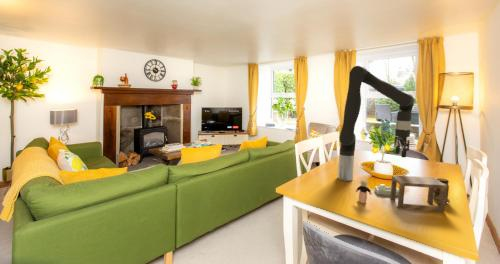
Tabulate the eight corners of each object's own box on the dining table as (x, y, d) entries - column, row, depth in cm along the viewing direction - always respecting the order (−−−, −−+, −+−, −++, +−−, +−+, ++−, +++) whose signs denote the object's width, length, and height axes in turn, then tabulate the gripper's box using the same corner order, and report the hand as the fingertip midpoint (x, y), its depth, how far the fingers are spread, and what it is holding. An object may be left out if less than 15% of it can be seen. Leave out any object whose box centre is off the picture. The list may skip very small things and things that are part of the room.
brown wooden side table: (398, 208, 124) (401, 182, 122) (390, 199, 135) (392, 175, 133) (443, 212, 120) (446, 185, 118) (431, 201, 131) (433, 177, 130)
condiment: (431, 201, 132) (433, 179, 131) (432, 196, 139) (435, 176, 137) (448, 205, 128) (451, 182, 126) (449, 199, 134) (451, 178, 132)
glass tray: (377, 194, 141) (378, 186, 140) (374, 191, 147) (375, 182, 146) (400, 196, 139) (401, 187, 138) (396, 192, 145) (397, 184, 144)
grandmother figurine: (354, 203, 130) (356, 180, 129) (355, 200, 134) (356, 177, 132) (371, 205, 127) (372, 182, 126) (370, 202, 131) (372, 179, 129)
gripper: (391, 126, 151) (388, 152, 154) (401, 129, 137) (398, 158, 140) (404, 127, 150) (401, 153, 152) (415, 130, 136) (413, 158, 138)
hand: (400, 155), depth 146 cm, fingers open, 8 cm apart
